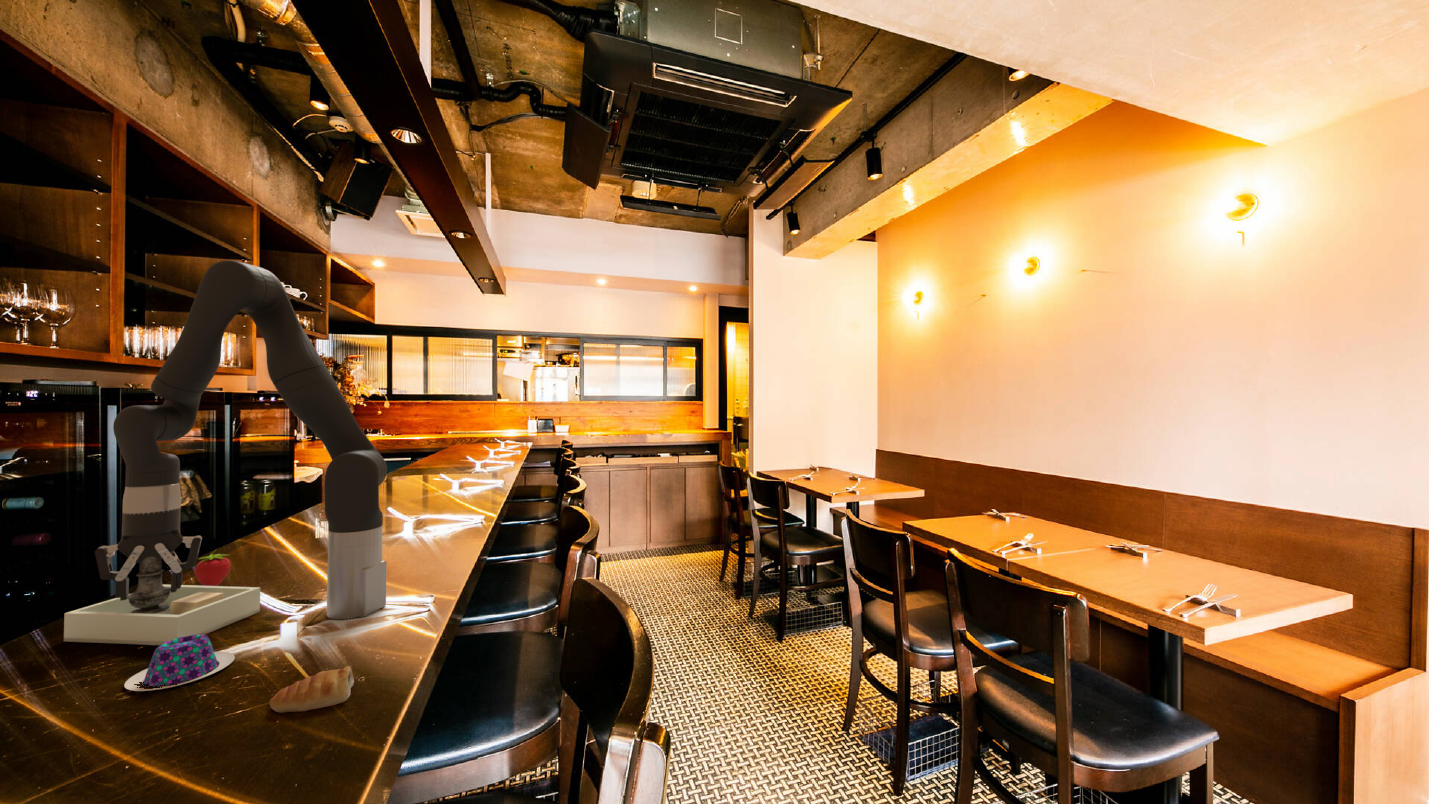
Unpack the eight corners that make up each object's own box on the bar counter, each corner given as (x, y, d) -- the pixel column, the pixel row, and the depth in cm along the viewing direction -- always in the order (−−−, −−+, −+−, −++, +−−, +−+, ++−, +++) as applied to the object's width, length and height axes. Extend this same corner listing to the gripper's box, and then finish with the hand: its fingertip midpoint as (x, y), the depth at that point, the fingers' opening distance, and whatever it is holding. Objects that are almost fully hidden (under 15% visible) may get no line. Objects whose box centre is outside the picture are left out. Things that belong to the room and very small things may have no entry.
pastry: (264, 724, 67) (264, 695, 67) (275, 699, 73) (276, 673, 73) (350, 703, 72) (351, 676, 72) (355, 682, 77) (355, 657, 78)
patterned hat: (177, 657, 85) (178, 626, 85) (254, 654, 86) (254, 624, 86) (97, 698, 73) (98, 661, 73) (187, 694, 74) (188, 658, 74)
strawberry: (229, 584, 119) (230, 542, 120) (231, 592, 114) (232, 548, 114) (194, 590, 115) (195, 546, 115) (193, 599, 110) (194, 553, 110)
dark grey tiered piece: (165, 613, 96) (167, 550, 96) (119, 619, 93) (121, 554, 93) (176, 603, 101) (177, 543, 101) (133, 609, 98) (135, 547, 98)
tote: (259, 611, 103) (260, 587, 103) (177, 645, 88) (177, 617, 88) (161, 608, 105) (162, 584, 105) (63, 641, 90) (64, 613, 90)
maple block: (223, 618, 99) (223, 592, 99) (195, 629, 94) (195, 602, 94) (199, 617, 99) (200, 592, 99) (170, 628, 94) (171, 601, 94)
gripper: (88, 516, 90) (85, 610, 89) (203, 506, 99) (200, 592, 99) (99, 509, 95) (96, 598, 95) (206, 501, 105) (204, 582, 104)
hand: (149, 594), depth 97 cm, fingers closed on dark grey tiered piece, 6 cm apart
